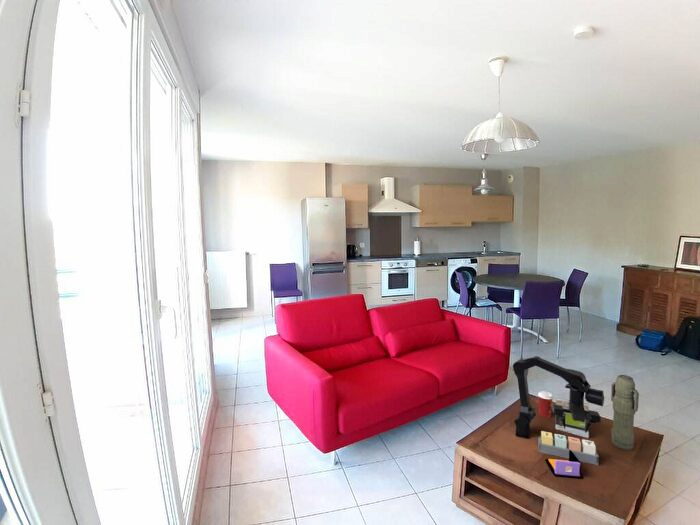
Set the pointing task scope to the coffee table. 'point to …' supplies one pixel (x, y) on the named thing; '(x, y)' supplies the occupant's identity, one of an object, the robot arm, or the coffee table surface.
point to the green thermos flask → (624, 411)
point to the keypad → (565, 452)
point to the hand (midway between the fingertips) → (575, 430)
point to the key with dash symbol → (574, 444)
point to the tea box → (571, 420)
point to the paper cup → (545, 404)
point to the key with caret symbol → (560, 441)
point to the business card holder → (566, 467)
